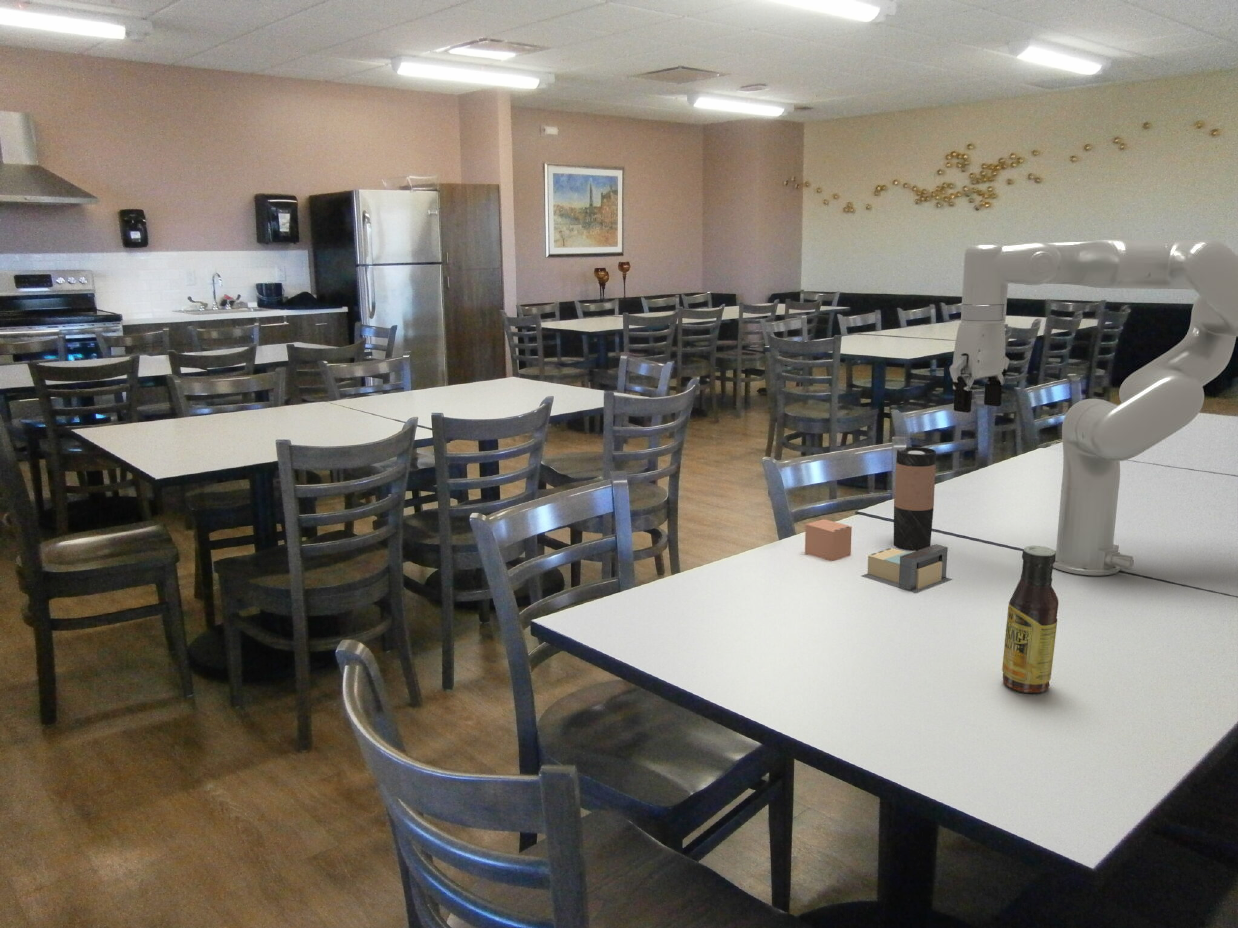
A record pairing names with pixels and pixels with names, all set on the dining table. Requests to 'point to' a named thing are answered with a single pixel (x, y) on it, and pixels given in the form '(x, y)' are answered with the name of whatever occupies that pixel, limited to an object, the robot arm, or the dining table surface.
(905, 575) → the grey rectangular collar
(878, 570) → the tan and teal block
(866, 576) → the mat
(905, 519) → the travel mug
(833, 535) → the stub
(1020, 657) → the sauce bottle
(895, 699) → the dining table surface
